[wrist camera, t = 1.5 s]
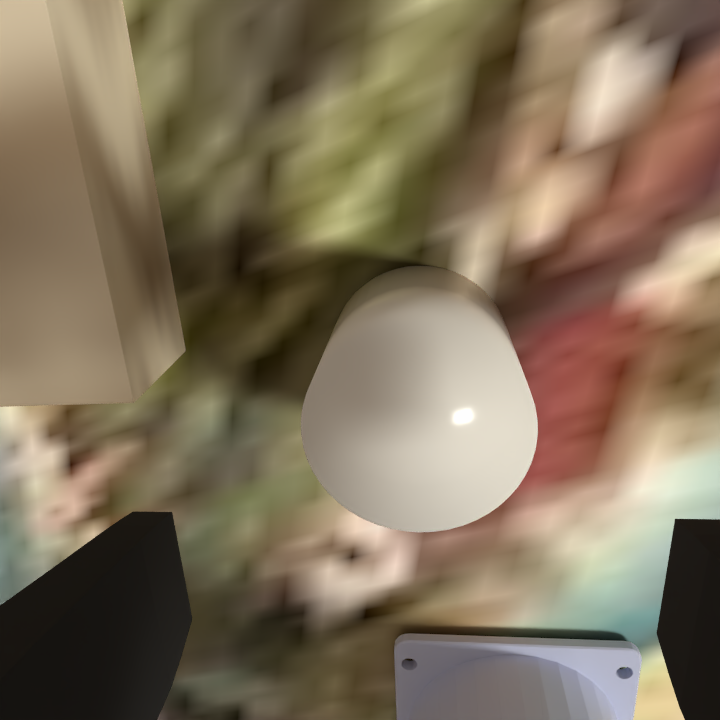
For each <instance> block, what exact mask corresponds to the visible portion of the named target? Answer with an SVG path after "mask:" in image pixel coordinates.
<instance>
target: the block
mask: <svg viewBox="0 0 720 720" xmlns="http://www.w3.org/2000/svg"><path fill="white" fill-rule="evenodd" d="M185 351H186V349H185V344H184V338H183V332H182V327H181V321H180V316H179V310H178V305H177V299H176V294H175V288H174V283H173V277H172V272H171V266H170V261H169V255H168V250H167V244H166V239H165V233H164V228H163V222H162V217H161V211H160V206H159V200H158V195H157V189H156V184H155V178H154V172H153V167H152V161H151V156H150V150H149V145H148V139H147V134H146V128H145V123H144V117H143V112H142V106H141V101H140V95H139V90H138V84H137V79H136V73H135V68H134V62H133V57H132V51H131V46H130V40H129V35H128V29H127V24H126V18H125V12H124V7H123V1H122V0H0V407H3V406H37V405H71V404H106V403H134V402H135V401H136V400H137V399H138V398H139V397H140V396H141V395H142V394H143V393H144V392H145V391H146V390H147V389H148V388H149V387H150V386H151V385H152V384H153V383H154V382H155V381H156V380H157V379H158V378H159V377H160V376H161V375H162V374H163V373H164V372H165V371H166V370H167V369H168V368H169V367H170V366H171V365H172V364H173V363H174V362H175V361H176V360H177V359H178V358H179V357H180V356H181V355H182V354H183V353H184V352H185Z"/></svg>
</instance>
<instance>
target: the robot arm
mask: <svg viewBox="0 0 720 720" xmlns="http://www.w3.org/2000/svg"><path fill="white" fill-rule="evenodd" d="M191 621H192V615H191V610H190V604H189V599H188V594H187V589H186V583H185V578H184V573H183V568H182V562H181V557H180V552H179V547H178V541H177V536H176V531H175V526H174V520H173V515H172V512H132V513H130V514H129V515H127V516H126V517H124V518H122V519H121V520H119V521H118V522H116V523H115V524H113V525H112V526H110V527H109V528H108V529H106V530H105V531H103V532H102V533H101V534H99V535H98V536H96V537H95V538H94V539H92V540H91V541H89V542H88V543H87V544H85V545H84V546H83V547H81V548H80V549H78V550H77V551H76V552H74V553H73V554H72V555H70V556H69V557H67V558H66V559H65V560H63V561H62V562H61V563H59V564H58V565H56V566H55V567H54V568H52V569H51V570H49V571H48V572H47V573H45V574H44V575H42V576H41V577H40V578H38V579H37V580H35V581H34V582H33V583H31V584H30V585H28V586H27V587H26V588H24V589H23V590H22V591H20V592H19V593H17V594H16V595H15V596H13V597H12V598H10V599H9V600H7V601H6V602H5V603H3V604H2V605H0V720H157V719H158V716H159V714H160V712H161V710H162V707H163V705H164V703H165V700H166V698H167V696H168V693H169V691H170V689H171V686H172V683H173V680H174V677H175V674H176V671H177V668H178V665H179V662H180V659H181V655H182V652H183V649H184V645H185V642H186V638H187V635H188V632H189V628H190V625H191ZM657 636H658V639H659V643H660V646H661V649H662V653H663V656H664V659H665V663H666V666H667V670H668V673H669V676H670V679H671V682H672V685H673V688H674V691H675V694H676V697H677V701H678V704H679V707H680V709H681V711H682V714H683V716H684V718H685V720H720V520H711V519H675V524H674V530H673V536H672V542H671V548H670V554H669V561H668V567H667V573H666V579H665V585H664V591H663V598H662V604H661V610H660V616H659V622H658V628H657ZM407 658H410V659H414V660H413V661H408V660H405V659H407ZM394 661H395V687H396V714H397V720H633V718H634V711H635V704H636V697H637V690H638V683H639V676H640V669H641V662H642V659H641V654H640V652H639V649H638V648H637V646H636V645H635V644H633V643H631V642H627V641H612V640H583V639H555V638H526V637H498V636H469V635H441V634H412V633H408V634H402V635H400V636H398V638H397V639H396V640H395V645H394ZM621 667H626V668H625V669H619V668H621Z"/></svg>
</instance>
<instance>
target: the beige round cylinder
mask: <svg viewBox="0 0 720 720" xmlns="http://www.w3.org/2000/svg"><path fill="white" fill-rule="evenodd" d="M301 435H302V441H303V447H304V450H305V454H306V457H307V460H308V462H309V464H310V466H311V468H312V471H313V473H314V474H315V476H316V477H317V479H318V480H319V482H320V483H321V485H322V486H323V487H324V488H325V489H326V491H327V492H328V493H329V494H330V495H331V496H332V497H333V498H334V499H335V500H336V501H337V502H338V503H340V504H341V505H342V506H344V507H345V508H346V509H348V510H349V511H350V512H352V513H354V514H356V515H357V516H359V517H361V518H363V519H365V520H367V521H370V522H372V523H374V524H377V525H380V526H383V527H387V528H390V529H395V530H401V531H409V532H435V531H442V530H448V529H452V528H456V527H459V526H463V525H465V524H468V523H470V522H473V521H475V520H477V519H479V518H481V517H483V516H485V515H487V514H488V513H490V512H491V511H493V510H494V509H495V508H497V507H498V506H500V505H501V504H502V503H503V502H504V501H505V500H506V499H507V498H508V497H510V495H511V494H512V493H513V492H514V491H515V490H516V488H517V487H518V486H519V485H520V483H521V481H522V480H523V478H524V477H525V475H526V473H527V471H528V469H529V467H530V464H531V462H532V459H533V456H534V452H535V449H536V443H537V435H538V424H537V414H536V409H535V404H534V401H533V398H532V395H531V392H530V389H529V387H528V384H527V381H526V379H525V376H524V373H523V371H522V368H521V365H520V363H519V360H518V357H517V355H516V352H515V349H514V347H513V344H512V341H511V339H510V336H509V333H508V331H507V328H506V325H505V323H504V320H503V318H502V316H501V314H500V312H499V309H498V308H497V306H496V305H495V303H494V302H493V300H492V299H491V298H490V297H489V296H488V295H487V294H486V292H485V291H484V290H483V289H481V288H480V287H479V286H478V285H477V284H475V283H474V282H472V281H471V280H469V279H468V278H466V277H464V276H462V275H460V274H458V273H456V272H453V271H450V270H447V269H443V268H439V267H433V266H408V267H402V268H398V269H394V270H391V271H388V272H385V273H383V274H381V275H379V276H377V277H375V278H373V279H372V280H370V281H369V282H367V283H366V284H364V285H363V286H362V287H361V288H360V289H359V290H358V291H356V292H355V293H354V295H353V296H352V297H351V298H350V299H349V301H348V302H347V303H346V305H345V307H344V308H343V310H342V311H341V314H340V316H339V318H338V320H337V323H336V325H335V327H334V330H333V332H332V334H331V337H330V339H329V341H328V344H327V346H326V348H325V351H324V353H323V355H322V358H321V360H320V362H319V365H318V367H317V370H316V372H315V374H314V377H313V379H312V381H311V384H310V386H309V388H308V391H307V393H306V396H305V400H304V404H303V408H302V416H301Z"/></svg>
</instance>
